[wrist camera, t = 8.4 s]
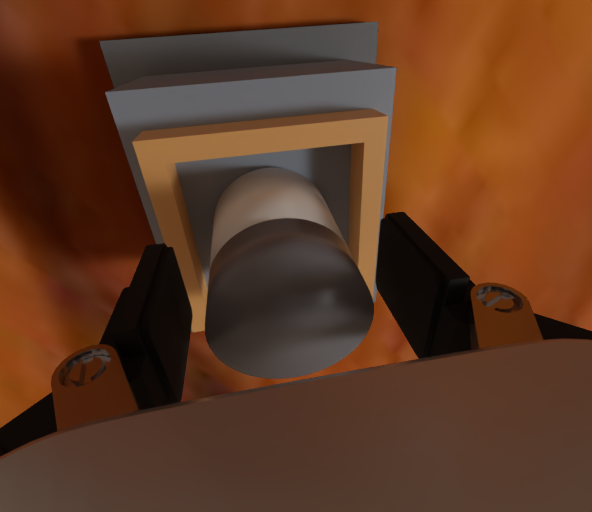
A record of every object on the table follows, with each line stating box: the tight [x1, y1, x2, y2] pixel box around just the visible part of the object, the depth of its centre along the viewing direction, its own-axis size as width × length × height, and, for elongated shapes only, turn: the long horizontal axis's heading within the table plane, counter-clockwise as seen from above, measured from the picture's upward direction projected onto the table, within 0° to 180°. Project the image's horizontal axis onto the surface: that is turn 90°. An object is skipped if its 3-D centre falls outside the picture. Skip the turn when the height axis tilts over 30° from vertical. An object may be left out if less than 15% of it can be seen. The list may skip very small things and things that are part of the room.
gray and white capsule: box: [205, 168, 374, 379], centre depth 12 cm, size 5×5×6 cm
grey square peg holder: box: [99, 22, 397, 332], centre depth 17 cm, size 14×13×8 cm
